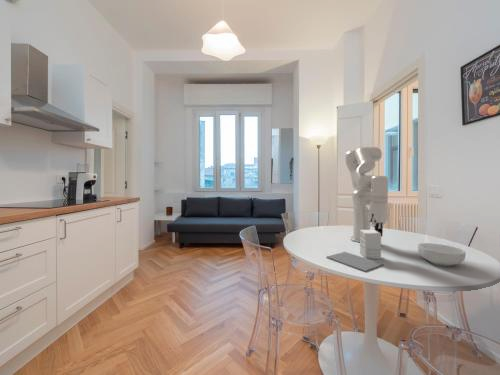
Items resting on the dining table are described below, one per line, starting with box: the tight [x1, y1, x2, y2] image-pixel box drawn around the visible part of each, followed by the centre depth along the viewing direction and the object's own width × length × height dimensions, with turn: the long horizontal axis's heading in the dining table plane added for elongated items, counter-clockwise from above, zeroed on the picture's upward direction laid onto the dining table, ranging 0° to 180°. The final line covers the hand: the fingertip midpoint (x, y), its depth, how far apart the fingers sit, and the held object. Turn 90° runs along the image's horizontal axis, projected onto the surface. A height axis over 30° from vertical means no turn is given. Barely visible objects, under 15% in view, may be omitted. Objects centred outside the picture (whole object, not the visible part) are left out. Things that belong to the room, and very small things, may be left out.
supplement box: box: [359, 229, 382, 260], centre depth 115 cm, size 7×7×13 cm
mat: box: [326, 251, 384, 273], centre depth 108 cm, size 14×20×1 cm
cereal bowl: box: [417, 242, 467, 267], centre depth 106 cm, size 17×17×7 cm
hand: (378, 236), depth 118 cm, fingers closed
